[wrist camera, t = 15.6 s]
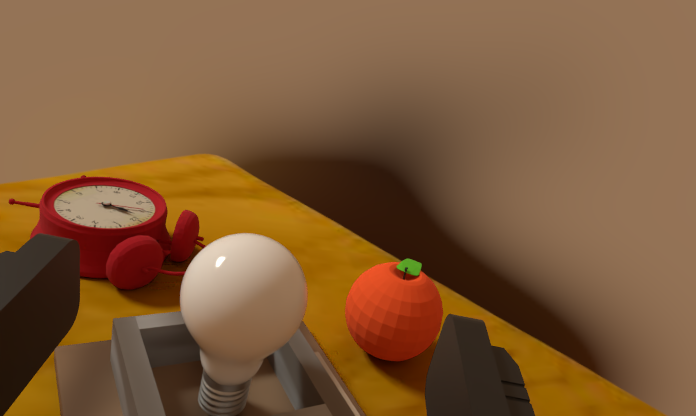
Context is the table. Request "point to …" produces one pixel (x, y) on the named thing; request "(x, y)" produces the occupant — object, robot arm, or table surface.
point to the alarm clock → (116, 228)
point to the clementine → (394, 311)
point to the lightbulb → (240, 313)
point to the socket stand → (189, 375)
